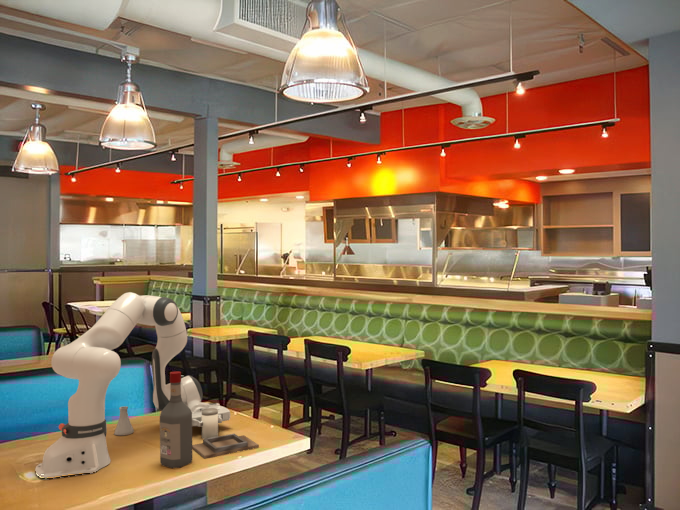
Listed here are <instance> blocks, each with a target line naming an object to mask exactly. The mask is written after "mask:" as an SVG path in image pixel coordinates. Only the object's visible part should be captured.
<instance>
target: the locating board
mask: <svg viewBox="0 0 680 510" xmlns="http://www.w3.org/2000/svg"><path fill="white" fill-rule="evenodd" d="M258 447H259V444H258V443H257V442H255V441H254V440H252V439H250V438H249V437H247V436H246V435H238V434H237V433H231V434H224V435H218V437H213V438H208V439H203V438H202V443H201V442H200V443H197V444H192V451H195V452H196V453H197V455H200V457H202V458H203V459H205V460H206V459H210V458H214V457H221V456H224V455H225V456H226V455H229V453H230V454H234V453H233V452H235V453H238V452H237V451H240V452H244V451H243V450H245V451H248V449H249V450H253V448H254V449H258Z"/></svg>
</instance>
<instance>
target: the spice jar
mask: <svg viewBox="0 0 680 510" xmlns="http://www.w3.org/2000/svg"><path fill="white" fill-rule="evenodd" d="M202 421H203V426H201V439H202V440H203V439H208V438H213V437H218V436H219V423H218V409H216V408H207V409H203V410H202Z"/></svg>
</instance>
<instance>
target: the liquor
mask: <svg viewBox="0 0 680 510" xmlns="http://www.w3.org/2000/svg"><path fill="white" fill-rule="evenodd" d="M181 378H182V371H177V370H176V371H175V370H174V371H170V372H169V383H170V402H169V403H168V404H167V405H166V407H165V408H164V409H163V410H162V411H160V414H159V451H160V453H159V457H160V459H159V461H160V465H161V467H166V468H170V469H178V468H182V467H185V466H187V465H190V464H192V462H193V449H192V445H193V426H192V412H191V409H190V408H189V407H188V406H187V405H186V404H185V403H184V402H183V401H182V398H181Z"/></svg>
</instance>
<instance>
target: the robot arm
mask: <svg viewBox="0 0 680 510" xmlns="http://www.w3.org/2000/svg"><path fill="white" fill-rule="evenodd" d="M137 324H139V325H145V326H153V327H155V331H156V336H157V342H156V346H155V348H154V349H153V350H152V352H151V353H152V354H151V368H152V369H151V370H152V384H153V386H152V388H153V389H152V402H153V404H154V407H155V408H156V410H158V411H160V412H161V411H162V410H163V409H164V408H165V407H166V405H167V404H168V403H169V402H170V382H169V383H167V384H166V374H165V373H166V372H165V371H166V366H167V365H168V364H169V362H170V361H172V359H174V357H176V356H177V355H179V354H180V353H181V352H182V351H183V350H184V348H185V347H186V346H187V343H188V331H187V329H186V328H187V327H186V324H185V320H184V318H183V315H182V313H181V310H180V309H179V307H178V305H177V304H176V302H175V300H173V299H172V298H169V297H167V296H158V295H151V294H150V295H145V294H144V295H140V294H137V293H135V292H131V291H129V292H125V293H123V294H122V295H120V296H119V297H118V298H116V300H114V302H112V304H111V305H110V306H109V307H107V309H106V310H105V312H104V313H103V314H102V315H101V316H100V317H99V319H98V320H97V321H96V322H95V323H94V324H93V326H91V328H90V329H88V330H87V331H85V332H84V333H83V334H82V335H81V336H79V337H78V338H76V339H75V340H73V341H72V342H70V343H68V344H67V345H66V344H65V345H63V346H61V347H59V348H57V349H56V350H55V351H54V353H53V355H52V357H51V360H50V361H51V368H52V370H53V372H54V373H56V374H57V375H60V376H62V377H64V378H67V379H71V380H78V386H77V389H76V391H75V393H73V394H72V395H70V397H69V399H68V402H67V407H68V408H67V409H68V410H67V412H68V417H67V420H68V422H67V423H66V424H65V423H60V424H59V425H58V429H59V430H60V431H61V437H59V438H58V439H57V440H56V441H54V442H53V443H52V444H51V445H49V446H48V447H47V448H46V450H45V451H44V454H43V457H42V462H41V463H38V464H37V465H36V466H35V469H34V472H35V471H36V473H37V474H38V475H39V476H41V477H44V478H47V477H55V476H62V475H68V474H79V473H90V474H94V473H93V472H95V473H96V471H97V472H98V471H99V470H100V469H103V468H105V467H106V466H108V465H109V464H110V463H111V461H112V460H111V457H110V454H109V449H108V446H107V445H108V443H107V433H108V432H107V431H108V430H107V429H108V427H107V426H108V423H107V419H106V418H105V416H106V415H105V414H106V411H105V410H106V395H107V391H108V388H109V385H110V384H111V382H112V381H113V380H114V379H115V378H116V377H117V376H118V375H119V373H120V369H121V365H122V362H121V361H122V360H121V358H120V356H119V354H118V353H117V352H115V351H114V349H117V348H119V347H120V346H121V345H122V344H123V343H124V342H125V340H126V338H127V337H128V336H129V335H130V334H131V332H132V330H133V329H134V328H135V326H136V325H137ZM203 395H204V394H203V388H202V385H201V383H200V382H199V380H198V379H197V378H195V377H193V376H192V375H186V376H184V377H181V398H182V401H183V402H184V403H185V404H186V405H187V406H188V407H189V408H190V409H191V412H192V427H199V428H200V427H202V426H203V421H202V410H203V409H207V408H216V409H218V424H222V423H223V422H226V421H229V420H231V411H230V409H228V407H225V406H222V405H220V403H218V402H202V400H203ZM41 474H44V475H41Z"/></svg>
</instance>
